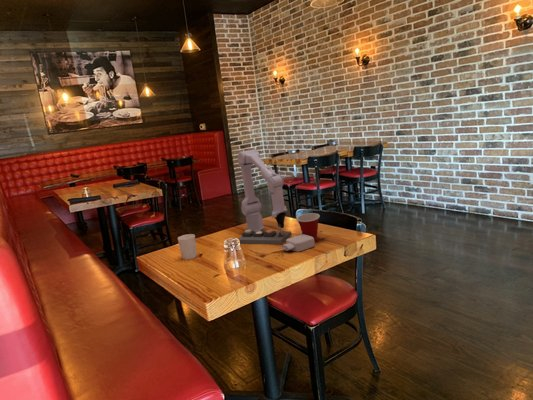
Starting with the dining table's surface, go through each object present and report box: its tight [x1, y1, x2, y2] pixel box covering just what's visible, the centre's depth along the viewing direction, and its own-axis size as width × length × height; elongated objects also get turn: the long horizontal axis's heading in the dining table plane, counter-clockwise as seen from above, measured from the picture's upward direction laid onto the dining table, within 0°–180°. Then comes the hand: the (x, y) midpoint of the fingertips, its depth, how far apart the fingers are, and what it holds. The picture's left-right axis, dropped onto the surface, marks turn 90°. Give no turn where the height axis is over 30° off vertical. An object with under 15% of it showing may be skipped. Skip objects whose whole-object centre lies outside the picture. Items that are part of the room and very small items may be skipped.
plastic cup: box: [296, 212, 320, 243], centre depth 187 cm, size 11×11×12 cm
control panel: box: [237, 230, 292, 245], centre depth 199 cm, size 14×24×4 cm, turn 67°
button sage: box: [244, 228, 251, 234], centre depth 202 cm, size 3×3×2 cm
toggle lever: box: [277, 223, 283, 233], centre depth 194 cm, size 2×2×5 cm
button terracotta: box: [265, 228, 274, 234], centre depth 197 cm, size 3×3×2 cm
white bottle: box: [279, 233, 316, 253], centre depth 179 cm, size 5×9×15 cm
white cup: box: [177, 233, 198, 261], centre depth 186 cm, size 8×8×10 cm
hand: (281, 227), depth 195 cm, fingers closed, pressing on toggle lever
